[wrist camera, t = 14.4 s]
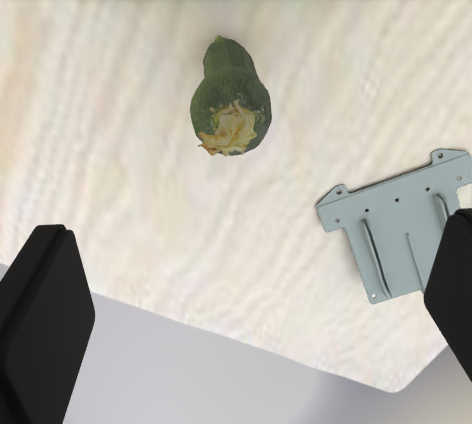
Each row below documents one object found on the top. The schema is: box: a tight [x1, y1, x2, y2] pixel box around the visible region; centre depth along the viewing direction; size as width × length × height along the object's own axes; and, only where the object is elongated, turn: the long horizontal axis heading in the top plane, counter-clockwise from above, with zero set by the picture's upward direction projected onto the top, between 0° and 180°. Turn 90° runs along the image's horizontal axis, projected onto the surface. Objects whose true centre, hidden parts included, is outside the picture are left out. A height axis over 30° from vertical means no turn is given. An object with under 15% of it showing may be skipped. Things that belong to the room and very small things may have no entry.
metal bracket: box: [316, 149, 472, 304], centre depth 42 cm, size 14×6×15 cm
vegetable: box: [190, 36, 272, 156], centre depth 25 cm, size 4×4×20 cm
